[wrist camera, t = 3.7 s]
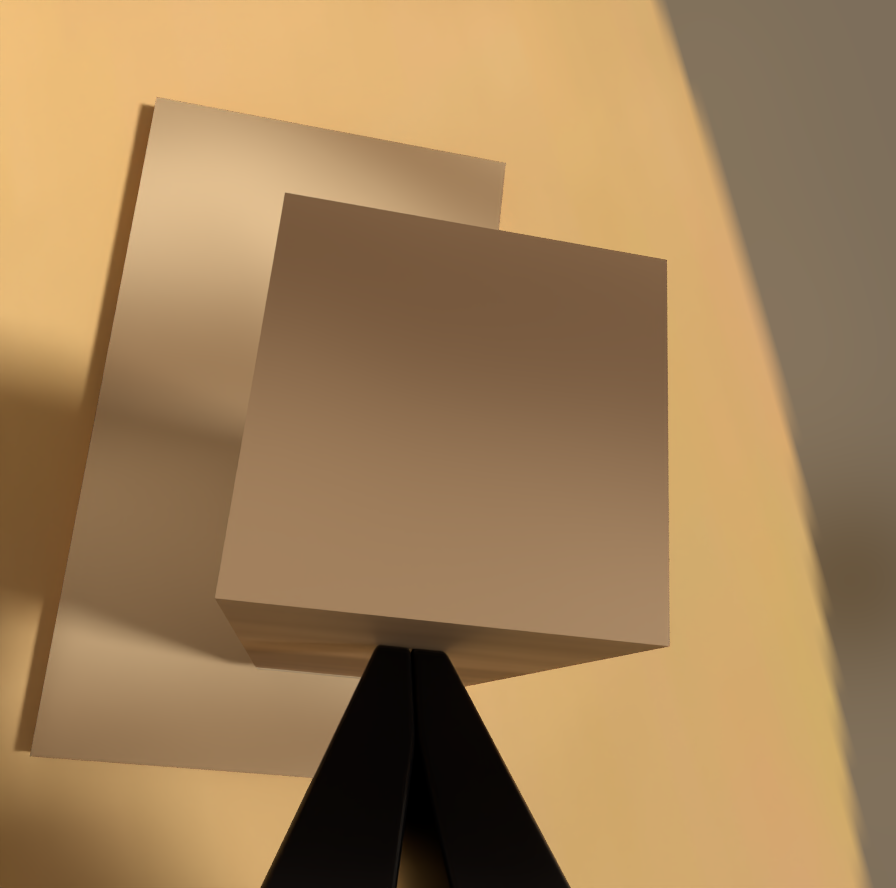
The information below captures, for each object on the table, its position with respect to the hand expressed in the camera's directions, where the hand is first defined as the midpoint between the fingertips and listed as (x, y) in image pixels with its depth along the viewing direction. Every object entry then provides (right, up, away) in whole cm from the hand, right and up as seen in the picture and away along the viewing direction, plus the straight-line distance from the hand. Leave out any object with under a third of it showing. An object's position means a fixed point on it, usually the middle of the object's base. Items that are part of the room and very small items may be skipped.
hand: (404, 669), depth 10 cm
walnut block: (-1, 0, +7) cm, 7 cm away
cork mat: (-3, +3, +8) cm, 9 cm away
